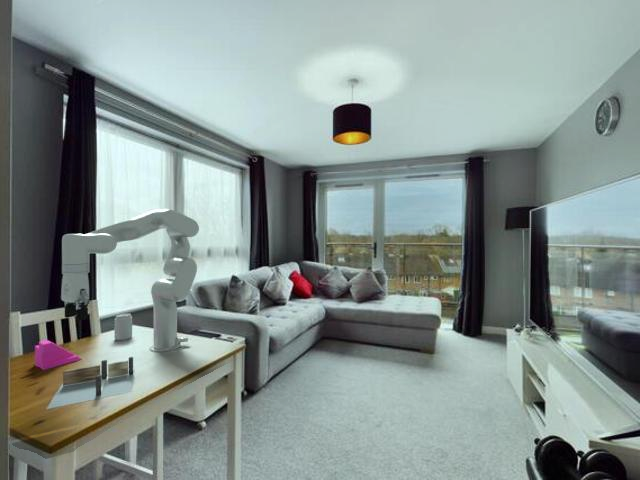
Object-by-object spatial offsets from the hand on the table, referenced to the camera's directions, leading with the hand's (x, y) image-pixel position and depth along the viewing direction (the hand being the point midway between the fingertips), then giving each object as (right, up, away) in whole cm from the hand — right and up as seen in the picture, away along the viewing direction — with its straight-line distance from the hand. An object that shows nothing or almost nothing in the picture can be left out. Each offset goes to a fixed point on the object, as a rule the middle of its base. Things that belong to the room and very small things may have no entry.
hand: (76, 318), depth 106 cm
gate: (+4, -21, -3) cm, 22 cm away
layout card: (+11, -22, -6) cm, 26 cm away
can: (-13, -22, +45) cm, 52 cm away
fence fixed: (+16, -21, -3) cm, 27 cm away
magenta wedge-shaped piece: (-19, -22, +15) cm, 33 cm away
